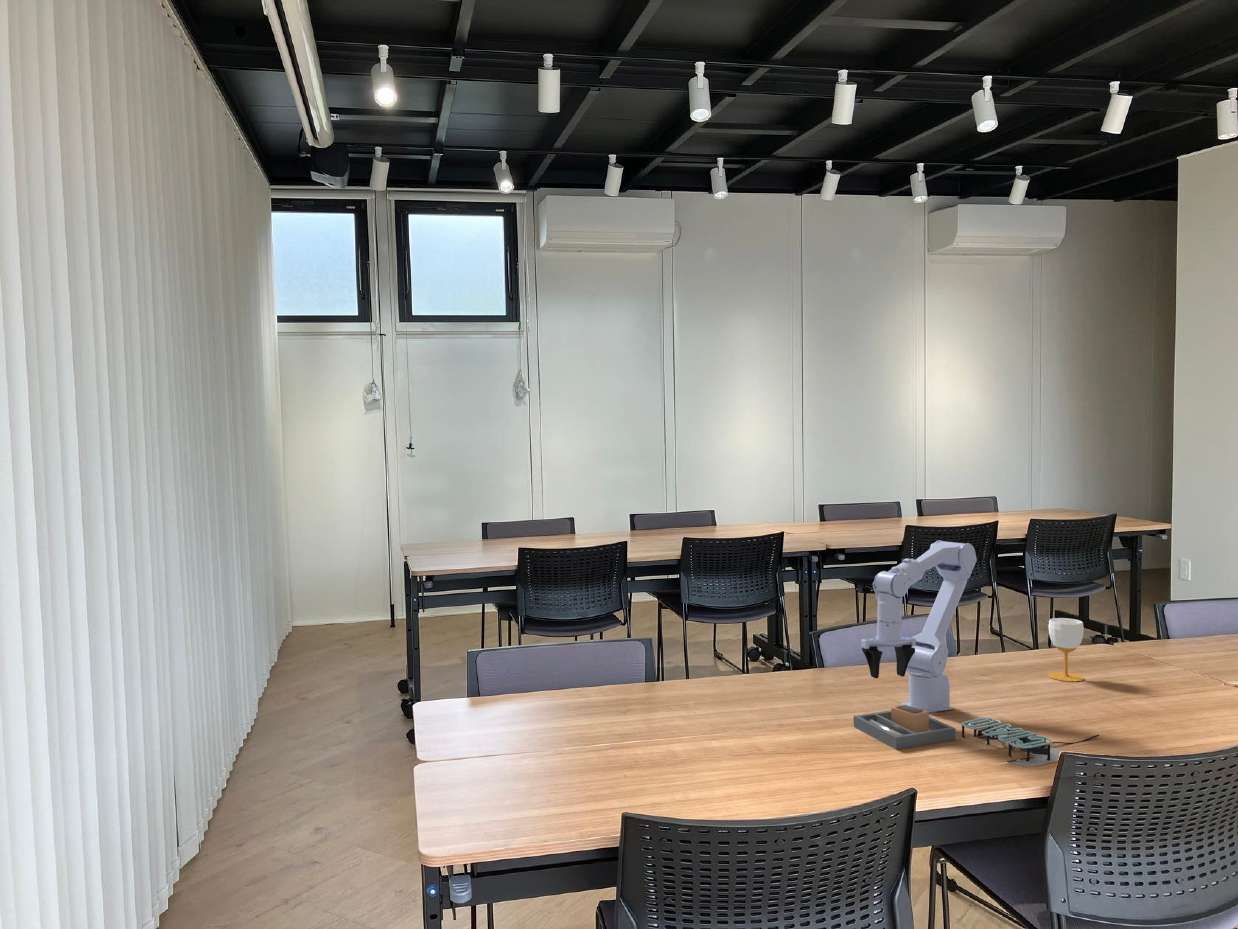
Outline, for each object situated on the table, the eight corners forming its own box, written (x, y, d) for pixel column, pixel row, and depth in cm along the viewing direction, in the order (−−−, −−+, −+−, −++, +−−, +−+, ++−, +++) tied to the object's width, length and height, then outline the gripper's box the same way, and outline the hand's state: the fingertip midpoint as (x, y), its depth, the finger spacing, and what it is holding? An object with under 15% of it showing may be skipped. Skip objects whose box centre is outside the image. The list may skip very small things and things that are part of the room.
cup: (1090, 681, 235) (1090, 624, 235) (1058, 682, 236) (1057, 625, 235) (1073, 672, 244) (1073, 617, 244) (1042, 673, 245) (1041, 618, 244)
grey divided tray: (909, 719, 207) (909, 707, 207) (955, 741, 192) (955, 728, 192) (853, 728, 202) (853, 715, 202) (896, 751, 187) (896, 737, 187)
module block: (904, 725, 203) (903, 702, 202) (928, 733, 197) (928, 710, 197) (891, 728, 200) (891, 706, 200) (916, 737, 194) (915, 714, 194)
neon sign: (1121, 729, 187) (1023, 751, 176) (1121, 748, 187) (1023, 771, 176) (1040, 702, 207) (947, 720, 195) (1040, 720, 207) (947, 738, 196)
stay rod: (866, 725, 201) (869, 718, 201) (872, 728, 202) (875, 720, 202) (898, 742, 190) (901, 734, 190) (905, 745, 190) (908, 737, 190)
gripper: (903, 617, 214) (902, 671, 214) (854, 619, 210) (852, 674, 210) (922, 622, 208) (920, 677, 208) (871, 624, 203) (870, 681, 203)
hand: (887, 676), depth 208 cm, fingers open, 7 cm apart
